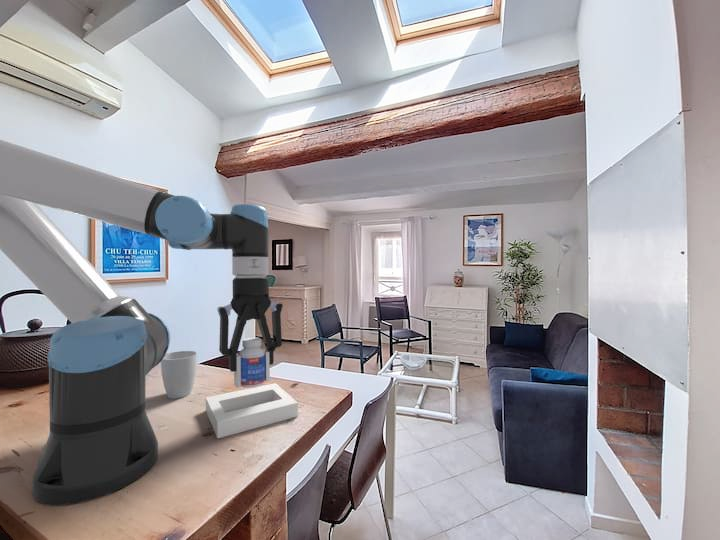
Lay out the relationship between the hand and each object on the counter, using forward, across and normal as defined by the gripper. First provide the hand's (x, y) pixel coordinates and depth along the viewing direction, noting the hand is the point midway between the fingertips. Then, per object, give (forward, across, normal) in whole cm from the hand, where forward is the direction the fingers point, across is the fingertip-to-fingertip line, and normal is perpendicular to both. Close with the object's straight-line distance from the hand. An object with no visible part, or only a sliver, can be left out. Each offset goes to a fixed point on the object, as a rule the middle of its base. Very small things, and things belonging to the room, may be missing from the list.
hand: (252, 382), depth 70 cm
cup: (+7, -12, +21) cm, 25 cm away
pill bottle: (+1, 0, 0) cm, 1 cm away
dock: (+7, 0, +3) cm, 7 cm away
